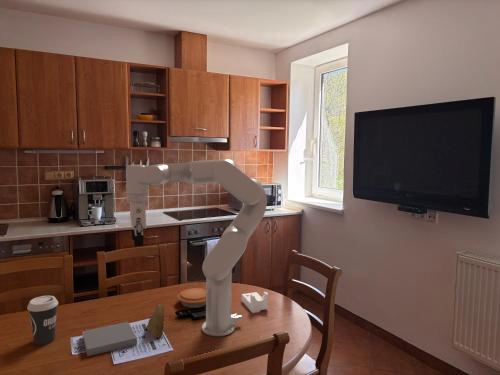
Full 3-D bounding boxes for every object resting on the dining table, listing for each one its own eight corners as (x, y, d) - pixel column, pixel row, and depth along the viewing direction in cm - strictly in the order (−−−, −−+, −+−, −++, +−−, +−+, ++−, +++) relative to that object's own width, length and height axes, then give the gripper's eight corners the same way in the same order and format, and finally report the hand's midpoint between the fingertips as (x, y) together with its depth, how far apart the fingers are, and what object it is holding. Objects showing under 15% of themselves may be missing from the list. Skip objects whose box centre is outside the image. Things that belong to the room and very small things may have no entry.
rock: (168, 333, 135) (175, 317, 144) (153, 316, 133) (161, 301, 143) (146, 348, 137) (154, 331, 146) (130, 331, 135) (140, 315, 145)
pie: (170, 303, 166) (170, 292, 166) (196, 293, 178) (196, 283, 178) (193, 313, 156) (193, 302, 156) (219, 302, 168) (219, 291, 168)
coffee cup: (38, 350, 126) (36, 307, 125) (23, 342, 131) (21, 301, 130) (65, 338, 135) (63, 298, 133) (50, 331, 140) (48, 292, 138)
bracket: (267, 311, 160) (268, 294, 160) (252, 313, 158) (252, 296, 157) (256, 299, 172) (256, 283, 172) (241, 301, 170) (241, 285, 169)
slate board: (128, 327, 143) (128, 321, 143) (136, 344, 131) (136, 337, 131) (82, 337, 135) (82, 331, 135) (87, 356, 123) (87, 349, 123)
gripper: (150, 200, 133) (150, 248, 135) (144, 194, 149) (145, 237, 151) (128, 201, 130) (128, 249, 132) (124, 195, 146) (125, 238, 148)
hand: (137, 243), depth 141 cm, fingers open, 9 cm apart
